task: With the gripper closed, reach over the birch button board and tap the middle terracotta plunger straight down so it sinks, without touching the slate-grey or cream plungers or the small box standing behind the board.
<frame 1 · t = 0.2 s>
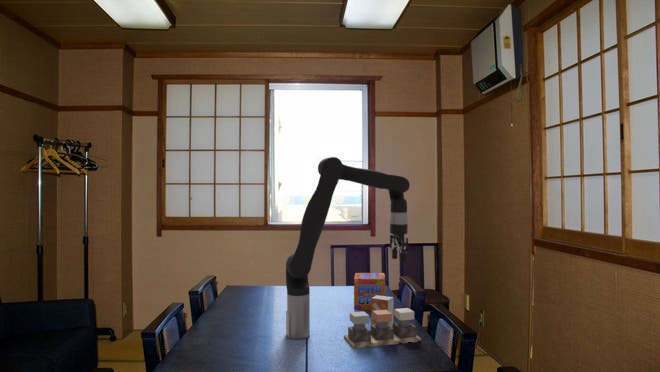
hand: (398, 260, 200), 29 cm above the table, fingers open, 8 cm apart
plunger cream: (404, 319, 186), point 7 cm above the table, slide at 0.0 cm
game box: (369, 306, 235), on the table
small box: (382, 328, 199), on the table
plunger terracotta: (382, 320, 183), point 7 cm above the table, slide at 0.0 cm
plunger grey: (359, 322, 181), point 8 cm above the table, slide at 0.0 cm
button board: (382, 339, 183), on the table
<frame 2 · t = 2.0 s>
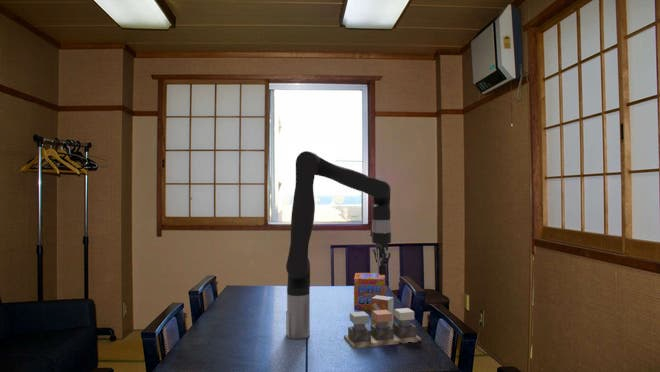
hand: (381, 274, 183), 26 cm above the table, fingers closed
nothing on the table moved.
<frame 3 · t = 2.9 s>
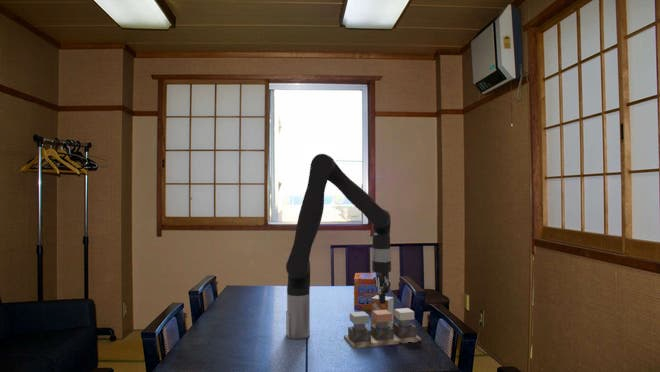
hand: (382, 303, 183), 15 cm above the table, fingers closed
nothing on the table moved.
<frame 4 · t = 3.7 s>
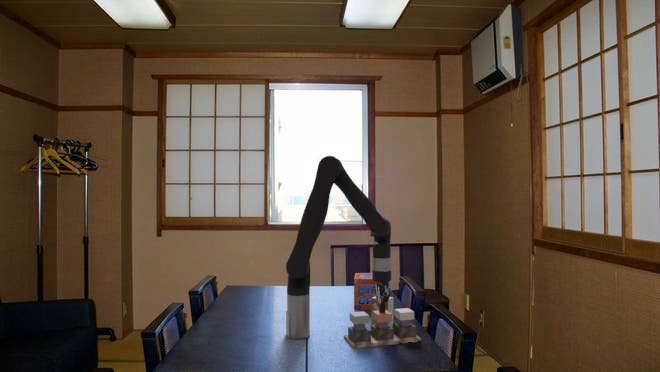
hand: (382, 312, 183), 11 cm above the table, fingers closed
plunger terracotta: (382, 321, 183), point 7 cm above the table, slide at 0.1 cm, touching gripper
everything else where it was.
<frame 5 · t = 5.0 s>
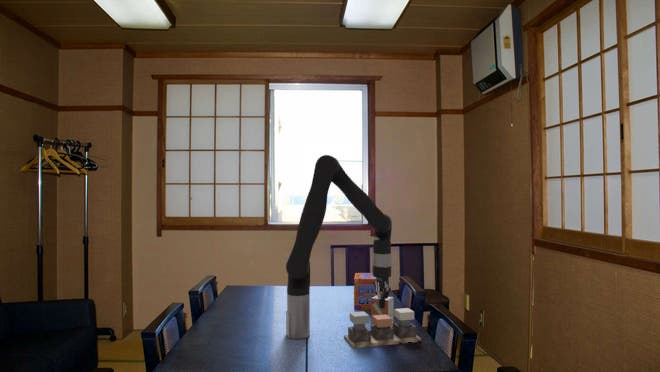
hand: (381, 308, 183), 13 cm above the table, fingers closed
plunger terracotta: (382, 325, 183), point 6 cm above the table, slide at 1.9 cm
everything else where it was.
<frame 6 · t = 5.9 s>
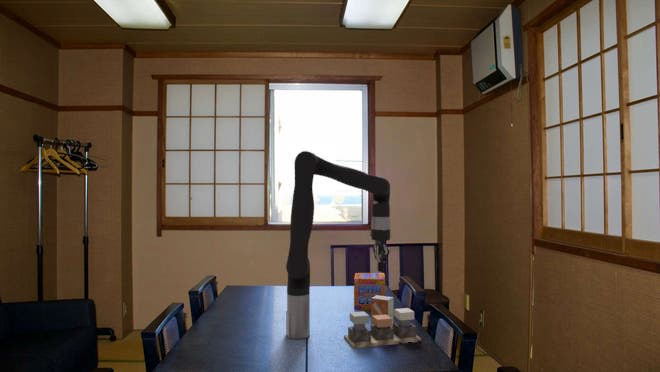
hand: (380, 271, 184), 27 cm above the table, fingers closed
nothing on the table moved.
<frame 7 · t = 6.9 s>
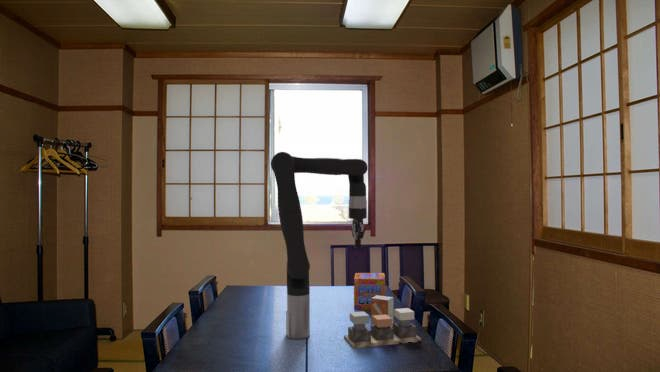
hand: (357, 248, 193), 35 cm above the table, fingers closed
nothing on the table moved.
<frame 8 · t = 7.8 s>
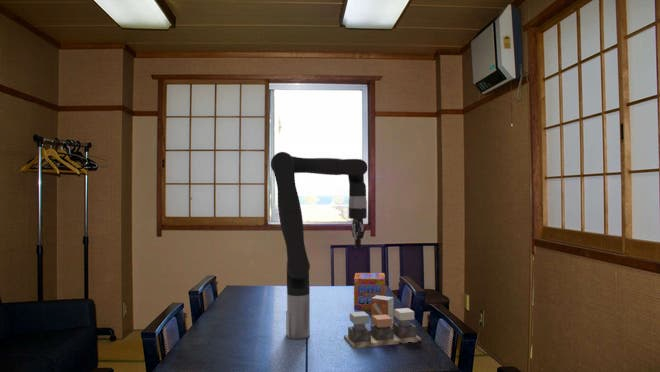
hand: (357, 248, 193), 35 cm above the table, fingers closed
nothing on the table moved.
at the end: plunger terracotta slide at 1.9 cm; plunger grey slide at 0.0 cm; plunger cream slide at 0.0 cm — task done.
